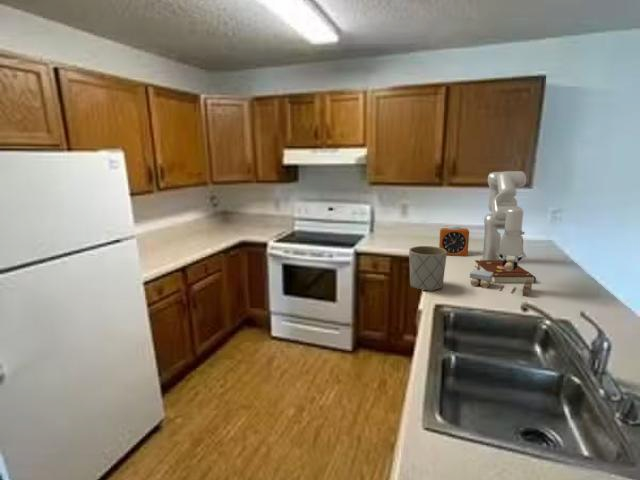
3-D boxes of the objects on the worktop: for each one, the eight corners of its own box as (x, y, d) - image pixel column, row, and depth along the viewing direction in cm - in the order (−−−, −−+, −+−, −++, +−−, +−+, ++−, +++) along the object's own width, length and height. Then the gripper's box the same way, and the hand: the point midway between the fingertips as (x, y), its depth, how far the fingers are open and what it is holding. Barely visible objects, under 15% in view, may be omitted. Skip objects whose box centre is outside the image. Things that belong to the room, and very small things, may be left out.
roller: (506, 267, 198) (507, 259, 197) (515, 268, 196) (515, 260, 195) (503, 270, 192) (504, 263, 191) (512, 272, 189) (513, 264, 189)
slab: (473, 273, 209) (474, 269, 209) (493, 276, 203) (493, 272, 203) (469, 277, 203) (470, 273, 202) (489, 281, 197) (490, 276, 197)
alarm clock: (439, 255, 262) (440, 226, 258) (438, 252, 271) (440, 224, 266) (467, 256, 258) (469, 227, 253) (466, 253, 266) (468, 224, 262)
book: (492, 283, 207) (493, 275, 205) (473, 266, 237) (474, 259, 236) (535, 284, 205) (536, 275, 204) (511, 266, 235) (512, 259, 234)
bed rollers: (474, 281, 210) (474, 274, 209) (515, 287, 198) (516, 280, 198) (470, 285, 203) (470, 278, 202) (512, 293, 191) (513, 285, 190)
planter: (417, 278, 217) (418, 244, 213) (450, 284, 206) (452, 249, 201) (401, 287, 203) (402, 251, 199) (436, 295, 191) (438, 257, 187)
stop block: (526, 288, 197) (526, 279, 196) (531, 289, 196) (532, 280, 195) (522, 295, 188) (523, 286, 186) (527, 296, 186) (528, 287, 185)
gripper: (532, 233, 188) (529, 269, 192) (496, 230, 198) (493, 264, 201) (530, 236, 182) (526, 272, 186) (493, 232, 192) (490, 267, 195)
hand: (509, 268), depth 194 cm, fingers closed on roller, 4 cm apart
